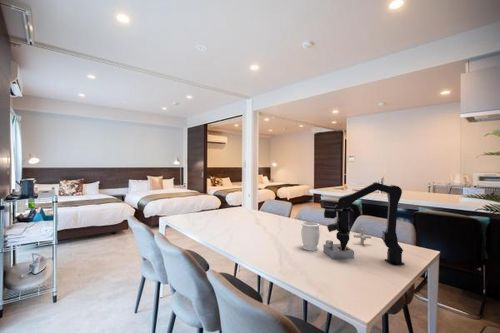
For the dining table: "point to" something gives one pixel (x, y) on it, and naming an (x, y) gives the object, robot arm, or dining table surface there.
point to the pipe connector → (362, 236)
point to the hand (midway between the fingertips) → (343, 247)
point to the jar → (310, 235)
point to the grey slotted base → (337, 251)
